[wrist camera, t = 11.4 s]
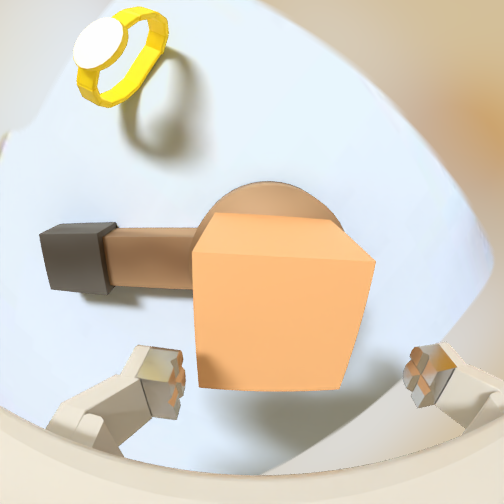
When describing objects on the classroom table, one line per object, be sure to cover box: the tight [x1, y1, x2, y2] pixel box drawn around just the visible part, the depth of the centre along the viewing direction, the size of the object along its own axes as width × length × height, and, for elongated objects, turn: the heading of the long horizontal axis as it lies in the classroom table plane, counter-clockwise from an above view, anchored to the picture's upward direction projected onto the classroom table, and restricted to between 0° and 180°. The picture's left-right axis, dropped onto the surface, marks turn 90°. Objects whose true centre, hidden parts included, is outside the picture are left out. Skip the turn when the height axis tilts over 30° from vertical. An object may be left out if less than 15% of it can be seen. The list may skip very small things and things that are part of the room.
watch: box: [73, 7, 169, 108], centre depth 11 cm, size 6×3×6 cm, turn 146°
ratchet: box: [39, 181, 344, 295], centre depth 15 cm, size 9×20×6 cm, turn 89°
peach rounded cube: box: [192, 212, 376, 391], centre depth 13 cm, size 6×6×6 cm
